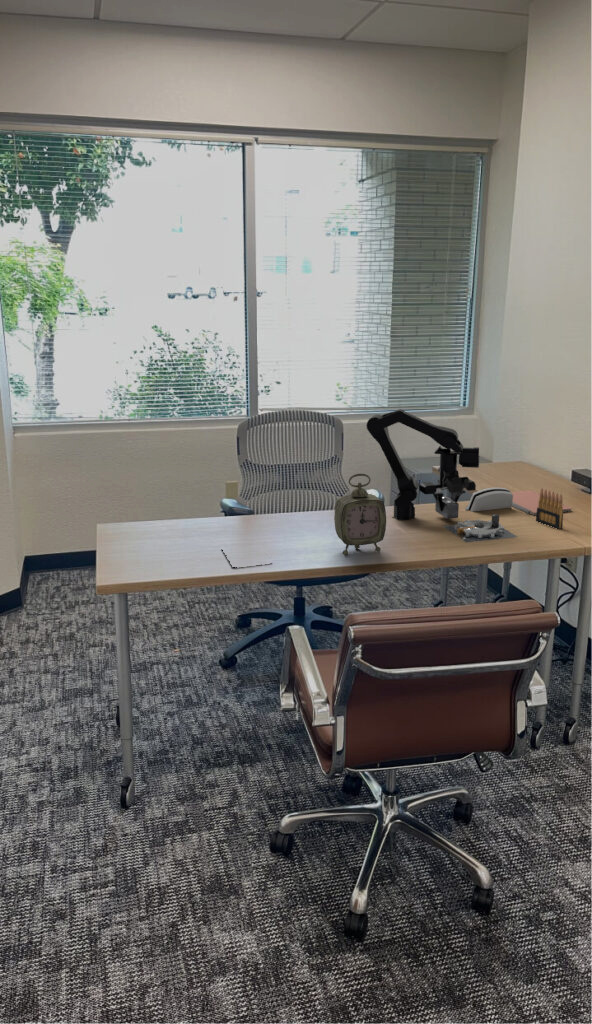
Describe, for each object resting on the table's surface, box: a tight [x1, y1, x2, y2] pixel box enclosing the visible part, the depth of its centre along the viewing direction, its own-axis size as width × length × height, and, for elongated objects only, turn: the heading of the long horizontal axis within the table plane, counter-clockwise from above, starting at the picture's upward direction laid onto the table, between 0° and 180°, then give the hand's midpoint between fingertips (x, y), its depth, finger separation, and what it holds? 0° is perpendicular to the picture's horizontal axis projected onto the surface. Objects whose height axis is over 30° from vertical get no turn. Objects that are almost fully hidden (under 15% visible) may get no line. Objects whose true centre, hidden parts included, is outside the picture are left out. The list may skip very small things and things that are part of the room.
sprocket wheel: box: [454, 513, 505, 538], centre depth 248 cm, size 16×16×6 cm
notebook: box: [510, 489, 573, 516], centre depth 282 cm, size 27×17×2 cm, turn 16°
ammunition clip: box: [535, 488, 564, 530], centre depth 255 cm, size 11×2×12 cm, turn 26°
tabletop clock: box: [333, 473, 387, 556], centre depth 233 cm, size 14×9×25 cm, turn 103°
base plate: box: [442, 524, 518, 543], centre depth 249 cm, size 18×18×1 cm
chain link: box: [434, 495, 460, 520], centre depth 261 cm, size 4×10×5 cm, turn 14°
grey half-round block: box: [464, 487, 513, 512], centre depth 274 cm, size 17×5×10 cm, turn 106°
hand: (446, 510), depth 261 cm, fingers closed on chain link, 4 cm apart
